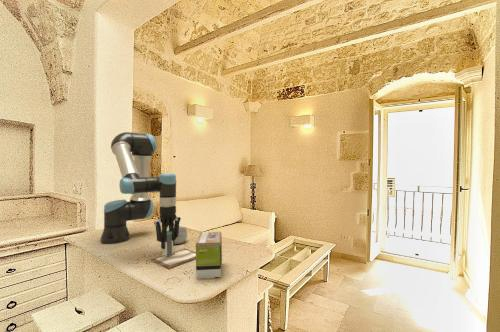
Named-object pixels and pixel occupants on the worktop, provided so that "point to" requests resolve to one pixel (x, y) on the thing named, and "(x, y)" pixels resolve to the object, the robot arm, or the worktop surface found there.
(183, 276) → the worktop surface
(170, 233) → the marker
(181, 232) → the teacup
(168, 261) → the clipboard
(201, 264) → the tea box
